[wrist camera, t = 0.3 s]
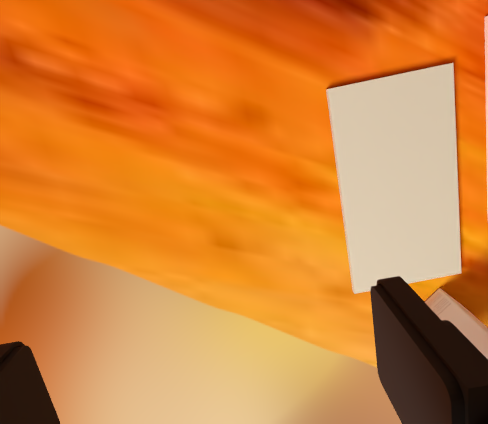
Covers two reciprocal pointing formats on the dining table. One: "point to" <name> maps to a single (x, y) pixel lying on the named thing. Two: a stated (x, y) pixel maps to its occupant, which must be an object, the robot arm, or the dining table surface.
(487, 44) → the hook rack
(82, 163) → the dining table surface
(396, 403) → the robot arm
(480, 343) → the supplement box
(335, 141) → the mat
